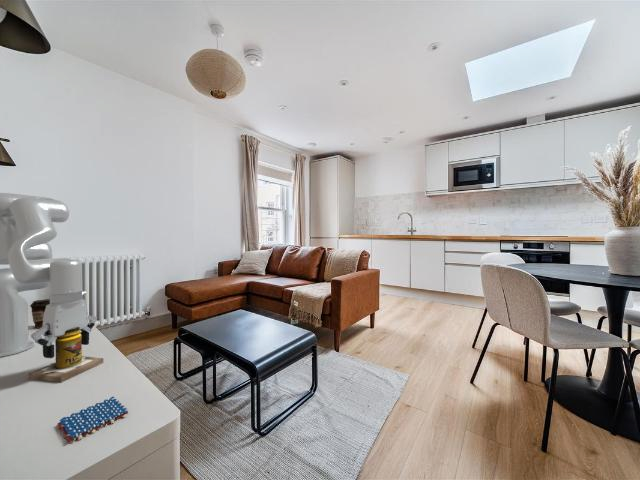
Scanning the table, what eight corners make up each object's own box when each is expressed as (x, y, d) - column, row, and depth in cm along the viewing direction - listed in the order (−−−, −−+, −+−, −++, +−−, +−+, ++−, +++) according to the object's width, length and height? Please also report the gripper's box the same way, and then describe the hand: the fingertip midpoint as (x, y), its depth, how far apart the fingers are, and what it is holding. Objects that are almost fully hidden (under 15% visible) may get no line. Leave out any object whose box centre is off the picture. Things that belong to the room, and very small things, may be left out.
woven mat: (55, 427, 58) (55, 418, 58) (113, 402, 66) (113, 394, 66) (68, 448, 52) (68, 439, 52) (129, 418, 61) (129, 409, 61)
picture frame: (28, 377, 78) (28, 372, 78) (73, 359, 89) (73, 354, 89) (61, 382, 75) (61, 376, 75) (103, 362, 87) (103, 357, 87)
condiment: (80, 366, 81) (79, 329, 81) (42, 374, 76) (41, 334, 76) (85, 357, 87) (85, 322, 87) (50, 364, 83) (50, 327, 82)
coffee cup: (42, 330, 119) (41, 302, 119) (24, 330, 119) (24, 302, 119) (61, 323, 128) (60, 298, 128) (45, 323, 128) (44, 298, 128)
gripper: (86, 292, 91) (87, 339, 91) (22, 304, 74) (23, 362, 74) (103, 292, 90) (104, 340, 90) (41, 305, 73) (42, 364, 73)
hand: (67, 350), depth 82 cm, fingers open, 9 cm apart
